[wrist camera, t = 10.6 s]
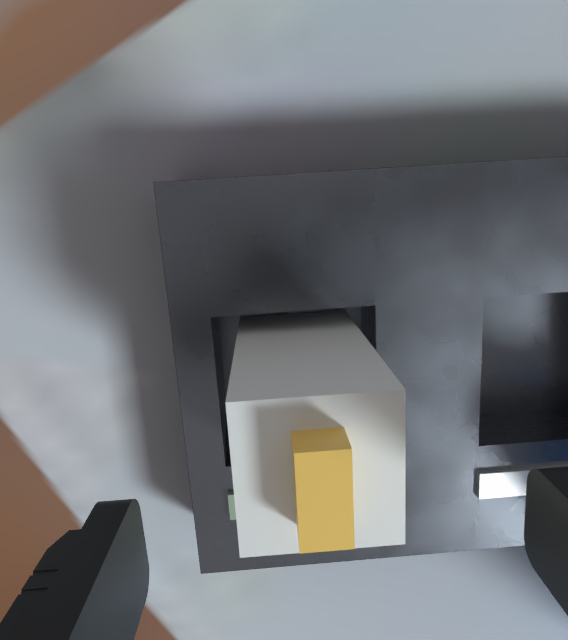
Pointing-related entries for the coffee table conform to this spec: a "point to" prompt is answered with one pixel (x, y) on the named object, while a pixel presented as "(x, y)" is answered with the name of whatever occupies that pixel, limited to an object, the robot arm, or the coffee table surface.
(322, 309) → the panel
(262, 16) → the coffee table surface
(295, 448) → the plug
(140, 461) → the coffee table surface
